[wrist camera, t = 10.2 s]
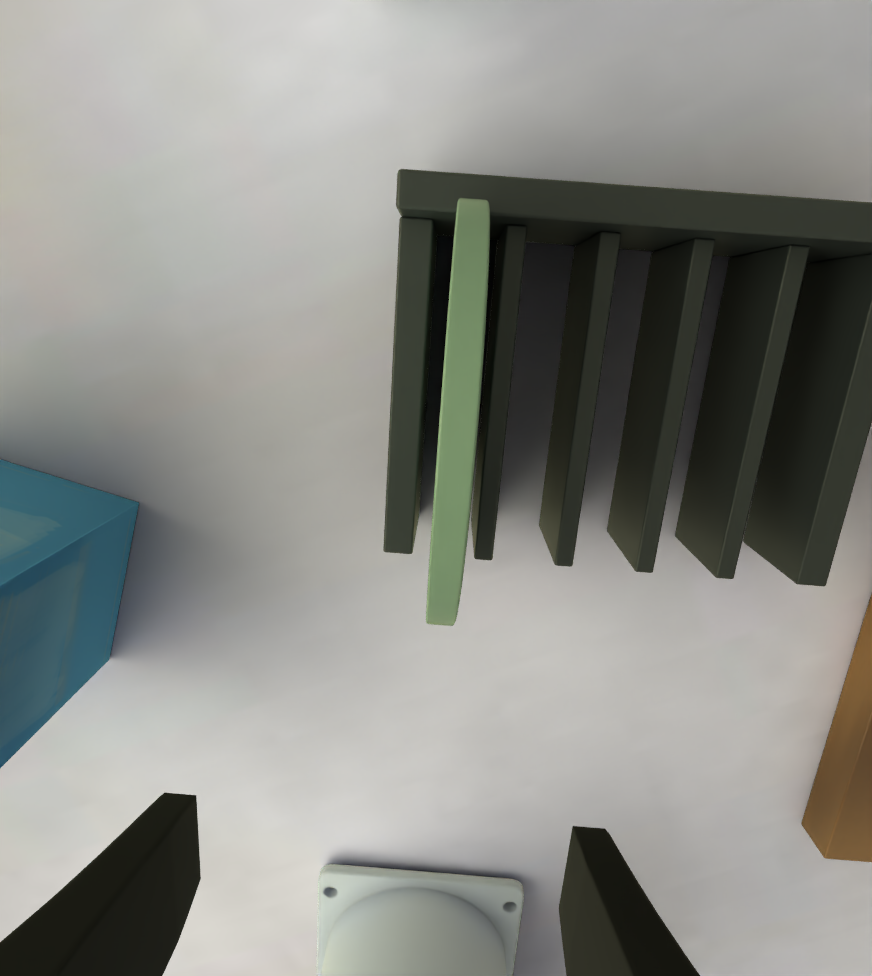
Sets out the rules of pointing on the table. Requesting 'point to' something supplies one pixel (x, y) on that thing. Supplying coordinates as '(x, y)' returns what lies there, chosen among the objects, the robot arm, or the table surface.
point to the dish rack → (639, 369)
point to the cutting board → (847, 766)
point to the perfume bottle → (55, 593)
